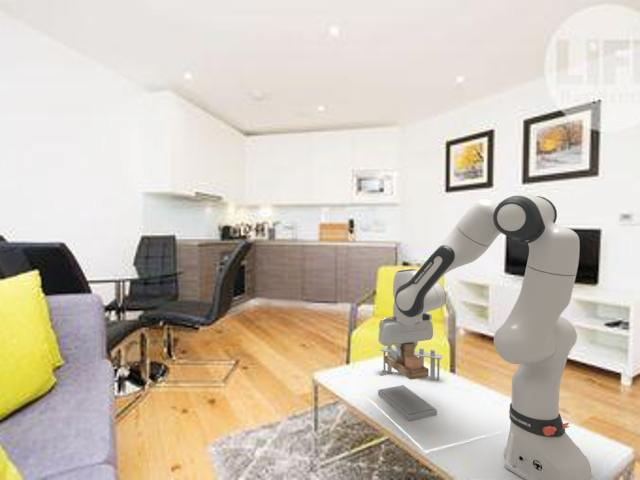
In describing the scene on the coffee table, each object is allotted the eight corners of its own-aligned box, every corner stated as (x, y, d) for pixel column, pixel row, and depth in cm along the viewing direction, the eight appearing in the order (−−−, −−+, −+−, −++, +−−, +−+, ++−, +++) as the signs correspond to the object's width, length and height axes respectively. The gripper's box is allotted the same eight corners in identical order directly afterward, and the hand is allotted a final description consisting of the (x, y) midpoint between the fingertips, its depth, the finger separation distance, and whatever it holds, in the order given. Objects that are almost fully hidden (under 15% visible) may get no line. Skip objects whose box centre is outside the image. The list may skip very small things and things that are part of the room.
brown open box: (428, 376, 125) (428, 348, 125) (410, 379, 123) (410, 351, 122) (401, 360, 140) (401, 334, 140) (385, 362, 138) (385, 337, 137)
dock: (437, 417, 125) (437, 408, 125) (408, 424, 121) (408, 414, 121) (403, 392, 144) (403, 384, 143) (378, 397, 140) (378, 389, 140)
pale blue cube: (406, 361, 135) (406, 350, 134) (396, 363, 133) (396, 352, 133) (400, 358, 138) (400, 347, 138) (390, 359, 137) (390, 348, 137)
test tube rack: (442, 381, 153) (442, 349, 153) (441, 385, 149) (441, 352, 149) (382, 371, 164) (382, 341, 163) (379, 375, 160) (379, 344, 159)
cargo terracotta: (421, 370, 126) (421, 359, 126) (411, 372, 125) (411, 360, 125) (414, 366, 130) (414, 355, 130) (404, 368, 129) (404, 356, 128)
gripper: (384, 320, 124) (384, 361, 125) (435, 314, 131) (435, 353, 132) (375, 316, 130) (375, 355, 131) (425, 310, 137) (424, 348, 138)
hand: (405, 354), depth 131 cm, fingers closed on brown open box, 3 cm apart
